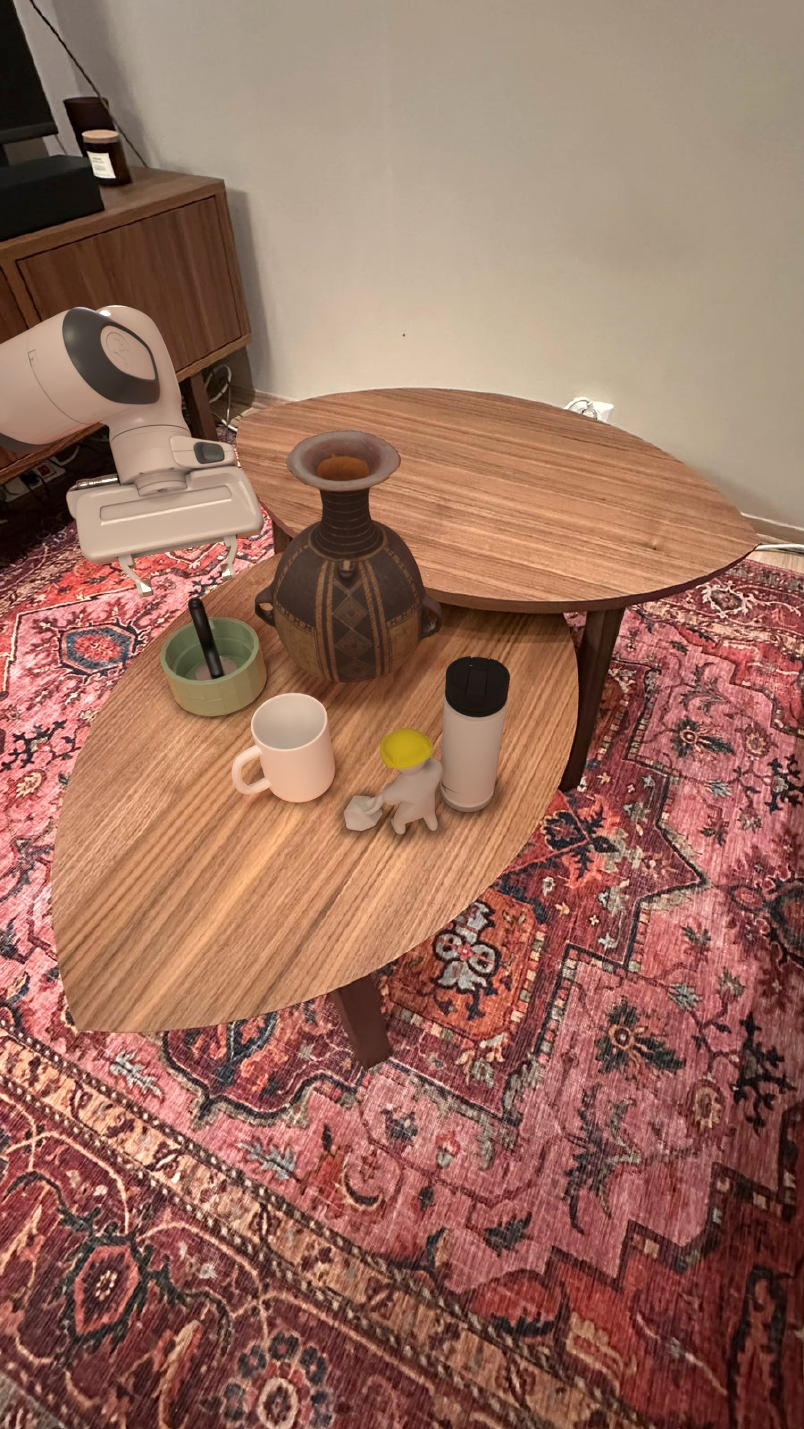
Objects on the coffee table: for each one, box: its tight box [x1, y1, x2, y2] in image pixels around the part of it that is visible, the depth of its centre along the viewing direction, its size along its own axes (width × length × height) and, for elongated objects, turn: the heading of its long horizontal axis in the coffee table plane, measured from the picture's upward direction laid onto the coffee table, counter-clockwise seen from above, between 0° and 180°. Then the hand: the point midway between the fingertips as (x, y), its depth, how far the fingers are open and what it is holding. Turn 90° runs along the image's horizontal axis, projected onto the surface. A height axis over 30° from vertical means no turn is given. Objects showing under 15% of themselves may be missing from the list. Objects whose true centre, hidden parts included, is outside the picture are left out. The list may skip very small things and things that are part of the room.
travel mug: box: [439, 655, 511, 813], centre depth 72 cm, size 6×7×20 cm
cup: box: [231, 692, 336, 803], centre depth 77 cm, size 8×12×10 cm
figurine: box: [343, 727, 443, 835], centre depth 72 cm, size 10×9×15 cm
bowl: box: [159, 616, 268, 717], centre depth 89 cm, size 12×12×6 cm
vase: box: [254, 429, 443, 684], centre depth 83 cm, size 23×19×30 cm
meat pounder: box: [187, 596, 238, 681], centre depth 86 cm, size 6×6×14 cm
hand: (188, 587), depth 78 cm, fingers open, 8 cm apart
